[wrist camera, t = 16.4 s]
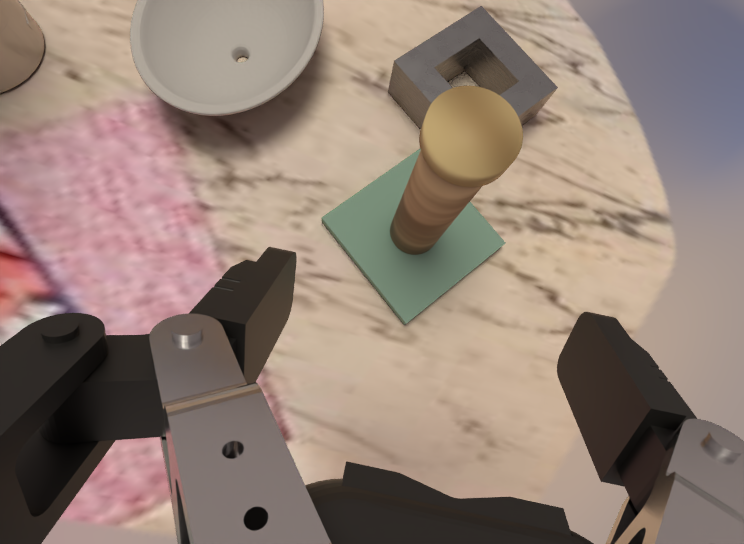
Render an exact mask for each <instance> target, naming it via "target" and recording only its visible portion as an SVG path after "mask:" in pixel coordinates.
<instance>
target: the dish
mask: <svg viewBox="0 0 744 544" xmlns="http://www.w3.org/2000/svg"><path fill="white" fill-rule="evenodd" d="M323 18H324V6H323V0H138V1H137V3H136V6H135V9H134V12H133V16H132V21H131V28H130V43H131V51H132V55H133V59H134V62H135V65H136V68H137V70H138V72H139V74H140V76H141V77H142V79H143V81H144V82H145V84H146V85H147V86H148V87H149V88H150V90H151V91H153V92H154V93H155V94H156V95H157V96H158V97H159V98H161V99H162V100H163V101H165V102H166V103H168V104H170V105H172V106H173V107H175V108H178V109H180V110H183V111H186V112H189V113H193V114H198V115H207V116H222V115H231V114H236V113H240V112H244V111H247V110H250V109H253V108H255V107H257V106H260V105H262V104H264V103H266V102H268V101H269V100H271V99H273V98H274V97H276V96H277V95H279V94H280V93H281V92H283V91H284V90H285V89H286V88H287V87H288V86H290V85H291V84H292V83H293V82H294V81H295V80H296V79H297V77H298V76H299V75H300V74H301V73H302V71H303V70H304V69H305V67H306V66H307V64H308V63H309V61H310V60H311V58H312V56H313V54H314V52H315V50H316V47H317V45H318V42H319V39H320V35H321V31H322V26H323ZM241 56H244V57H247V58H248V60H246V61H245V62H236V61H237V59H238V58H239V57H241Z"/></svg>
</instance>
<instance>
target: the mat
mask: <svg viewBox="0 0 744 544" xmlns="http://www.w3.org/2000/svg"><path fill="white" fill-rule="evenodd" d="M420 151H421V149H419V150H417V151H416V152H415V153H413V154H412V155H410V156H409V157H407V158H406V159H405V160H403V161H402V162H400V163H399V164H398V165H396V166H395V167H393V168H392V169H390V170H389V171H388V172H386V173H385V174H383V175H382V176H380V177H379V178H378V179H376V180H375V181H373V182H372V183H370V184H369V185H368V186H366V187H365V188H363V189H362V190H360V191H359V192H358V193H356V194H355V195H353V196H352V197H350V198H349V199H348V200H346V201H345V202H343V203H342V204H340V205H339V206H338V207H336V208H335V209H333V210H332V211H331V212H329V213H328V214H326V215H325V216H323V217H322V223H323V224H324V225H325V226H326V228H327V229H328V230H329V231H330V233H331V234H332V235H333V236H334V238H335V239H336V240H337V241H338V243H339V244H340V245H341V246H342V248H343V249H344V250H345V251H346V253H347V254H348V255H349V256H350V258H351V259H352V260H353V261H354V263H355V264H356V265H357V266H358V268H359V269H360V270H361V271H362V273H363V274H364V275H365V276H366V278H367V279H368V280H369V282H370V283H371V284H372V285H373V287H374V288H375V289H376V290H377V292H378V293H379V294H380V295H381V297H382V298H383V299H384V300H385V302H386V303H387V304H388V305H389V307H390V308H391V309H392V310H393V312H394V313H395V314H396V315H397V317H398V318H399V319H400V320H401V322H402V323H403V324H404V325H405V324H407V323H408V322H409V321H410V320H411V319H413V318H414V317H415V316H416V315H418V314H419V313H420V312H421V311H423V310H424V309H425V308H426V307H428V306H429V305H430V304H431V303H432V302H434V301H435V300H436V299H437V298H439V297H440V296H441V295H442V294H444V293H445V292H446V291H447V290H449V289H450V288H451V287H452V286H453V285H455V284H456V283H457V282H458V281H460V280H461V279H462V278H463V277H465V276H466V275H467V274H468V273H469V272H471V271H472V270H473V269H474V268H476V267H477V266H478V265H479V264H481V263H482V262H483V261H484V260H486V259H487V258H488V257H489V256H490V255H492V254H493V253H494V252H495V251H497V250H498V249H499V248H500V247H502V246H503V245H504V244H505V242H504V241H503V239H502V238H501V237H500V236H499V235H498V234H497V232H496V231H495V230H494V229H493V228H492V227H491V225H490V224H489V223H488V222H487V221H486V220H485V218H484V217H483V216H482V215H481V214H480V213H479V212H478V210H477V209H476V208H475V207H474V206H473V205H472V203H471V202H469V203H468V204H467V205H466V207H465V208H464V209H463V210H462V211H461V213H460V214H459V215H458V216H457V218H456V219H455V220H454V221H453V222H452V224H451V225H450V226H449V227H448V229H447V230H446V231H445V232H444V233H443V235H442V236H441V237H440V238H439V240H438V241H437V242H436V243H435V244H434V246H433V247H432V248H431V249H430V250H428V251H427V252H425V253H423V254H418V255H412V254H407V253H405V252H403V251H401V250H400V249H398V248H397V247H396V246H395V244H394V243H393V241H392V239H391V235H390V226H391V223H392V220H393V218H394V215H395V213H396V210H397V208H398V205H399V203H400V200H401V198H402V195H403V193H404V190H405V188H406V185H407V183H408V180H409V178H410V175H411V173H412V170H413V168H414V165H415V163H416V160H417V158H418V156H419V153H420Z"/></svg>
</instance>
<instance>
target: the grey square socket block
mask: <svg viewBox="0 0 744 544" xmlns="http://www.w3.org/2000/svg"><path fill="white" fill-rule="evenodd" d="M463 71H466V72H467V73H468V74H469V75H470V76H471V77H472V78H473V79H474V81H475V82H476V83H477V84H478V85H479V86H480V87H482V88H485V89H488V90H490V91H493V92H495V93H496V94H498V95H500V96H501V97H502V98H504V99H505V100H506V101H507V102H508V103H509V104H510V105H511V106H512V108H513V109H514V110H515V112H516V113H517V115H518V117H519V120H520V123H521V126H522V125H523V124H525V123H526V122H527V121H529V120H530V119H531V118H533V117H534V116H535V115H536V114H537V113H538V112H539V111H540V109H541V108H542V107H543V106H544V104H545V103H546V102H547V101H548V99H549V98H550V97H551V96H552V94H553V93H554V92H555V91H556V89H557V88H558V87H557V86H556V85H555V84H554V83H553V82H552V81H551V80H550V79H549V78H548V77H547V75H546V74H545V73H544V72H543V71H542V70H541V69H540V68H539V67H538V66H537V65H536V64H535V63H534V62H533V61H532V59H531V58H530V57H529V56H528V55H527V54H526V53H525V52H524V51H523V50H522V49H521V48H520V47H519V46H518V45H517V43H516V42H515V41H514V40H513V39H512V38H511V37H510V36H509V35H508V34H507V33H506V32H505V31H504V30H503V28H502V27H501V26H500V25H499V24H498V23H497V22H496V21H495V20H494V19H493V18H492V17H491V16H490V15H489V14H488V12H487V11H486V10H485V9H484V8H483V7H482V6H480V7H479V8H477V9H475V10H474V11H472V12H471V13H469V14H468V15H466V16H464V17H463V18H461V19H460V20H458V21H456V22H455V23H453V24H452V25H450V26H449V27H447V28H445V29H444V30H442V31H441V32H439V33H438V34H436V35H434V36H433V37H431V38H430V39H428V40H426V41H425V42H423V43H422V44H420V45H419V46H417V47H415V48H414V49H412V50H411V51H409V52H407V53H406V54H404V55H403V56H401V57H400V58H398V59H396V60H395V61H394V64H393V69H392V74H391V80H390V85H389V90H388V92H389V94H390V95H391V96H392V97H393V98H394V99H395V101H396V102H397V103H398V104H399V105H400V106H401V107H402V109H403V110H404V111H405V112H406V113H407V114H408V116H409V117H410V118H411V119H412V120H413V121H414V122H415V124H416V125H417V126H418V127H419V128H420V129H421V127H422V124H423V122H424V119H425V116H426V113H427V111H428V109H429V107H430V105H431V104H432V102H433V101H434V100H435V99H436V98H437V97H438V96H439V95H440V94H442V93H443V92H445V91H447V90H449V89H452V87H451V86H450V85H449V83H448V81H450V80H451V79H453V78H454V77H456V76H457V75H459V74H460V73H462V72H463Z"/></svg>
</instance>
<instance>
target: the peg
mask: <svg viewBox="0 0 744 544" xmlns="http://www.w3.org/2000/svg"><path fill="white" fill-rule="evenodd" d="M522 140H523V131H522V126H521V123H520V120H519V117H518V115H517V113H516V112H515V110H514V109H513V108H512V106H511V105H510V104H509V103H508V102H507V101H506V100H505V99H504V98H502V97H501V96H500V95H498V94H496V93H495V92H493V91H490V90H488V89H485V88H482V87H477V86H459V87H455V88H452V89H449V90H447V91H445V92H443V93H442V94H440V95H439V96H438V97H437V98H436V99H435V100H434V101H433V102H432V104H431V105H430V107H429V109H428V111H427V113H426V116H425V119H424V122H423V124H422V127H421V130H420V137H419V142H420V149H421V151H420V153H419V156H418V158H417V160H416V163H415V165H414V168H413V170H412V173H411V175H410V178H409V180H408V183H407V185H406V188H405V190H404V193H403V195H402V198H401V200H400V203H399V205H398V208H397V210H396V213H395V215H394V218H393V220H392V223H391V226H390V235H391V239H392V241H393V243H394V244H395V246H396V247H397V248H398V249H400V250H401V251H403V252H405V253H407V254H412V255H418V254H423V253H425V252H427V251H428V250H430V249H431V248H432V247H433V246H434V244H435V243H436V242H437V241H438V240H439V238H440V237H441V236H442V235H443V233H444V232H445V231H446V230H447V229H448V227H449V226H450V225H451V224H452V222H453V221H454V220H455V219H456V218H457V216H458V215H459V214H460V213H461V211H462V210H463V209H464V208H465V207H466V205H467V204H468V203H469V202H470V200H471V199H472V198H473V197H474V196H475V194H476V193H477V192H478V191H479V190H480V188H481V187H482V186H483V185H487V184H489V183H491V182H493V181H495V180H496V179H498V178H499V177H500V176H501V175H502V174H503V173H504V172H505V171H506V169H507V168H508V167H509V166H510V165H511V164H512V163H513V161H514V160H515V159H516V157H517V156H518V154H519V152H520V149H521V146H522Z"/></svg>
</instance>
